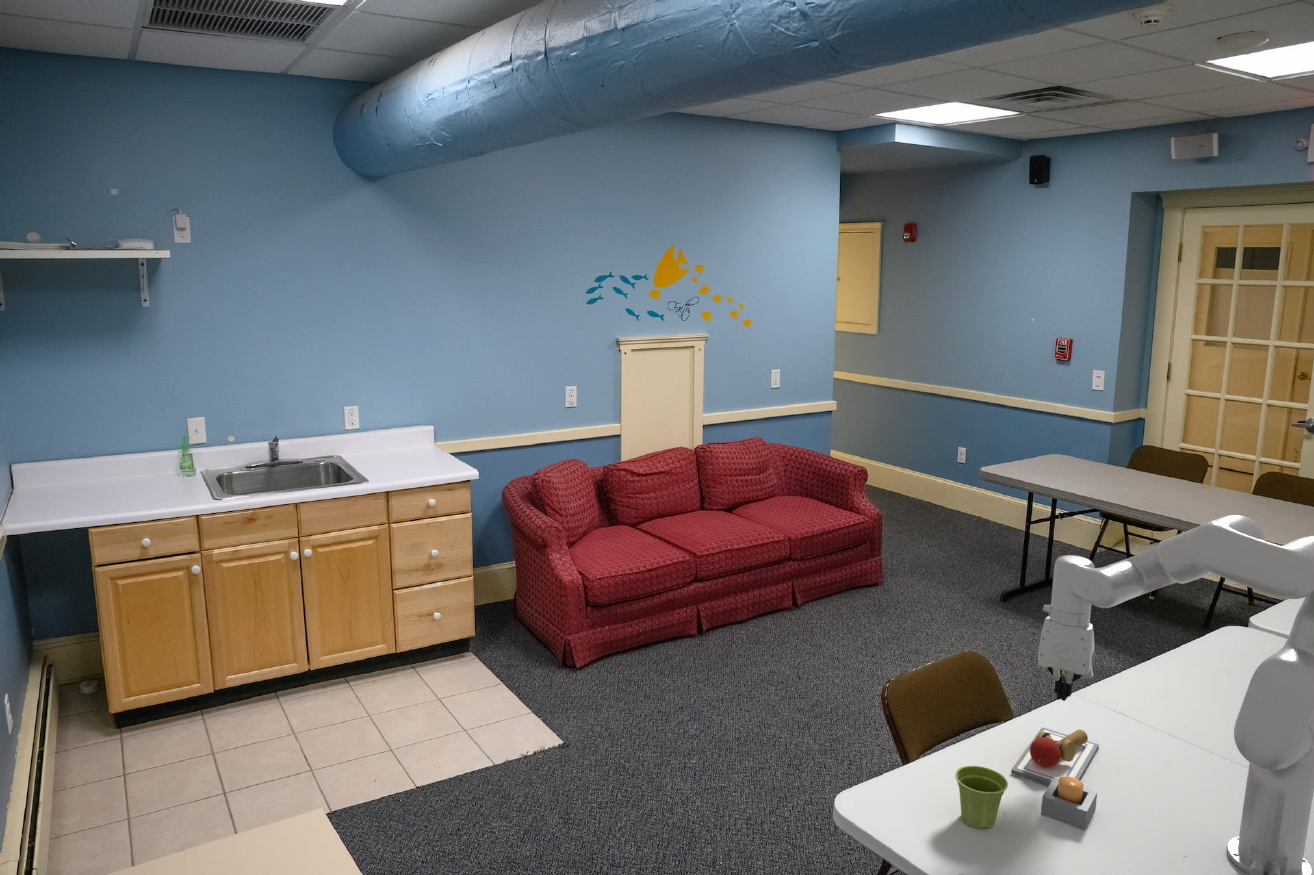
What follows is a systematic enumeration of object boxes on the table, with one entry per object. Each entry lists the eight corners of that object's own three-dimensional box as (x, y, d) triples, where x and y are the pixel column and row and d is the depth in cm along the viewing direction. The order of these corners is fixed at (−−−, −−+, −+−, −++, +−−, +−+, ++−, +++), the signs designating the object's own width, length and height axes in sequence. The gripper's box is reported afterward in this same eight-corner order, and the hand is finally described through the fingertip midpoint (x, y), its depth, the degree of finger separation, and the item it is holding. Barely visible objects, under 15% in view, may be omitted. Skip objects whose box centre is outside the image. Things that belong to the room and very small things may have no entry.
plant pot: (963, 799, 179) (966, 759, 178) (1011, 817, 173) (1014, 776, 172) (944, 821, 172) (947, 780, 171) (994, 841, 166) (997, 799, 165)
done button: (1078, 806, 171) (1080, 792, 171) (1054, 798, 174) (1055, 784, 173) (1084, 795, 175) (1086, 781, 174) (1060, 787, 177) (1062, 774, 177)
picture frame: (1072, 794, 181) (1072, 789, 181) (1011, 773, 188) (1011, 768, 188) (1098, 748, 198) (1099, 743, 198) (1041, 731, 205) (1042, 726, 205)
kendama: (1059, 739, 202) (1016, 756, 191) (1068, 715, 200) (1025, 730, 189) (1091, 760, 196) (1049, 778, 185) (1101, 735, 194) (1059, 752, 183)
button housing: (1085, 830, 169) (1087, 811, 169) (1040, 814, 174) (1042, 796, 174) (1095, 810, 176) (1097, 792, 175) (1052, 795, 180) (1054, 777, 180)
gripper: (1027, 612, 188) (1020, 693, 191) (1104, 630, 179) (1096, 715, 182) (1037, 602, 193) (1031, 681, 197) (1113, 618, 184) (1105, 701, 188)
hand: (1062, 697), depth 190 cm, fingers closed
